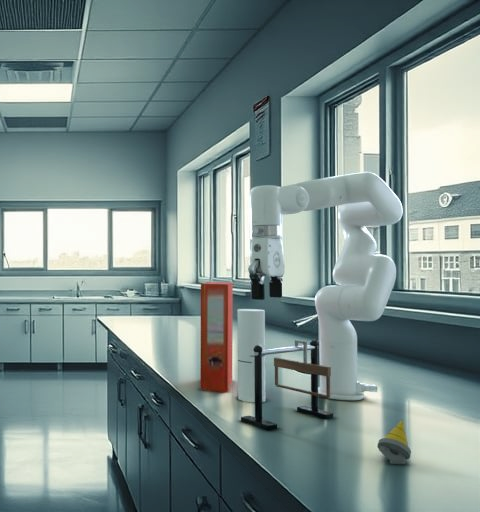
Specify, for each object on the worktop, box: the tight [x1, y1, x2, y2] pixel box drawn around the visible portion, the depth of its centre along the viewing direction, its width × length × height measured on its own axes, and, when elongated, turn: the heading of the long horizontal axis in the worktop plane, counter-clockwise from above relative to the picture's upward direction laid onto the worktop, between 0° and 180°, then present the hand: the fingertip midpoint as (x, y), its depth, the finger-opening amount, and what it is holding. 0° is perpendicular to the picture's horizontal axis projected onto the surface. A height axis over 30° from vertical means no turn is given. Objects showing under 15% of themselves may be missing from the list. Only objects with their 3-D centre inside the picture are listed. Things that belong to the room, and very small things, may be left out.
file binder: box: [199, 281, 234, 393], centre depth 171 cm, size 8×17×32 cm, turn 156°
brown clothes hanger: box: [273, 339, 331, 399], centre depth 136 cm, size 1×15×13 cm, turn 27°
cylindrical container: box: [236, 308, 266, 403], centre depth 154 cm, size 7×7×25 cm
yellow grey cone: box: [377, 420, 412, 465], centre depth 106 cm, size 5×5×10 cm
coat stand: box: [240, 339, 334, 432], centre depth 133 cm, size 23×8×19 cm, turn 117°
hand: (267, 298), depth 143 cm, fingers open, 9 cm apart
